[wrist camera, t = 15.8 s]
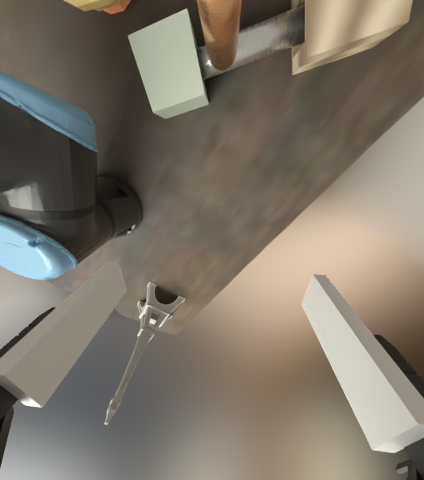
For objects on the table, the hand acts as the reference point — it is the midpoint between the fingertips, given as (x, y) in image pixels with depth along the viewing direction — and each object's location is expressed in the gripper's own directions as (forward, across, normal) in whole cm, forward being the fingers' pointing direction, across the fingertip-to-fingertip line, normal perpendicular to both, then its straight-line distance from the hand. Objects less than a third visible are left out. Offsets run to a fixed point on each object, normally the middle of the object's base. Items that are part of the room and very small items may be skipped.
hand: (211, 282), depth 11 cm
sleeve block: (+31, +16, +26) cm, 43 cm away
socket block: (+31, -9, +19) cm, 37 cm away
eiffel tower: (+31, -20, -39) cm, 54 cm away
